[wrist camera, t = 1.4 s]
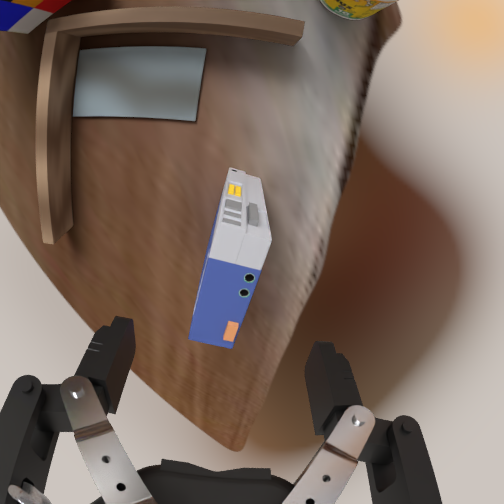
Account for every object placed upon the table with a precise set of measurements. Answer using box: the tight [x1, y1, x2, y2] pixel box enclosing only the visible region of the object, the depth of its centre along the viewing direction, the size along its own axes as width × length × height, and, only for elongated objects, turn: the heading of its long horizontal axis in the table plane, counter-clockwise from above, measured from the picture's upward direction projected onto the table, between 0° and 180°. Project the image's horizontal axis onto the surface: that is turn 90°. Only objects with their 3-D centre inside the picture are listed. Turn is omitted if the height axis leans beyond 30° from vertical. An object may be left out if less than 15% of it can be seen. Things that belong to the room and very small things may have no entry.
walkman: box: [188, 167, 272, 349], centre depth 21 cm, size 8×3×12 cm, turn 163°
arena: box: [36, 7, 305, 244], centre depth 21 cm, size 19×19×4 cm
